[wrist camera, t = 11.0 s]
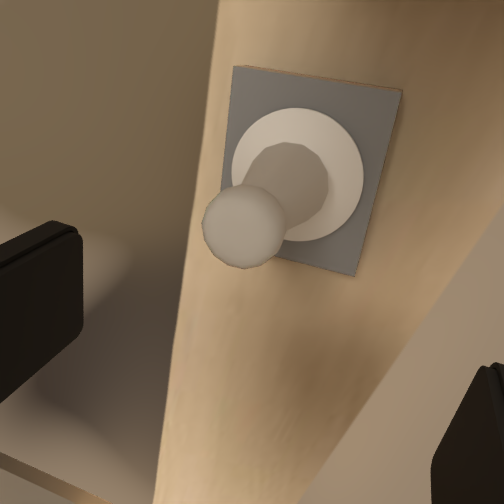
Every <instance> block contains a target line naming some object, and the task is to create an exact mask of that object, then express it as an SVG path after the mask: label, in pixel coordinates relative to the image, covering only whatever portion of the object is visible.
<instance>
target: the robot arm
mask: <svg viewBox="0 0 504 504" xmlns="http://www.w3.org/2000/svg"><path fill="white" fill-rule="evenodd" d="M82 328H83V240H82V237H81V236H80V235H79V234H78V231H77V229H76V228H75V227H73V226H70V225H67V224H63V223H61V222H58V221H53V220H52V221H48V222H46V223H44V224H42V225H40V226H38V227H36V228H34V229H32V230H30V231H28V232H26V233H23V234H21V235H19V236H17V237H15V238H13V239H11V240H9V241H7V242H5V243H3V244H1V245H0V403H1V402H2V401H4V400H5V399H6V398H7V397H8V396H9V395H11V394H12V393H13V392H14V391H15V390H16V389H18V388H19V387H20V386H21V385H22V384H23V383H24V382H26V381H27V380H28V379H29V378H30V377H32V376H33V375H34V374H35V373H36V372H37V371H38V370H40V369H41V368H42V367H43V366H44V365H45V364H47V363H48V362H49V361H50V360H51V359H52V358H53V357H55V356H56V355H57V354H58V353H59V352H61V350H63V349H64V348H65V347H66V346H67V345H69V344H70V343H71V342H72V341H73V340H74V339H76V338H77V337H78V335H79V334H80V332H81V330H82ZM431 500H432V504H504V365H503V364H500V363H497V362H495V363H493V364H492V365H491V366H490V367H486V366H481V367H480V368H479V369H478V371H477V373H476V375H475V377H474V379H473V381H472V383H471V384H470V386H469V388H468V390H467V392H466V394H465V396H464V398H463V400H462V402H461V404H460V406H459V408H458V410H457V411H456V413H455V415H454V417H453V419H452V421H451V423H450V425H449V427H448V429H447V431H446V433H445V435H444V437H443V438H442V440H441V442H440V444H439V446H438V448H437V450H436V452H435V454H434V456H433V459H432V464H431ZM0 504H113V503H111V502H108V501H106V500H104V499H102V498H100V497H98V496H95V495H93V494H91V493H89V492H87V491H85V490H82V489H80V488H78V487H76V486H74V485H71V484H69V483H67V482H65V481H63V480H60V479H58V478H56V477H54V476H52V475H50V474H48V473H45V472H43V471H41V470H38V469H36V468H34V467H32V466H30V465H28V464H26V463H24V462H21V461H19V460H17V459H15V458H12V457H10V456H8V455H6V454H4V453H1V452H0Z"/></svg>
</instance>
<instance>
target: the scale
mask: <svg viewBox="0 0 504 504" xmlns="http://www.w3.org/2000/svg"><path fill="white" fill-rule="evenodd" d="M402 91H403V90H398V89H392V88H386V87H380V86H373V85H367V84H361V83H354V82H348V81H342V80H335V79H329V78H323V77H316V76H310V75H304V74H298V73H291V72H285V71H279V70H272V69H266V68H260V67H253V66H247V65H245V66H233V76H232V85H231V95H230V104H229V114H228V124H227V133H226V143H225V152H224V162H223V172H222V181H221V191H222V190H224V189H226V188H230V187H233V186H237V185H240V184H241V183H242V181H243V179H244V177H245V175H246V173H247V171H248V169H249V167H250V165H251V163H252V161H253V160H254V159H255V158H256V157H257V156H258V155H259V154H260V153H261V151H262V150H263V149H264V148H266V147H269V146H272V145H275V144H278V143H282V142H288V143H295V144H302V145H304V146H306V147H307V148H308V149H310V150H311V151H313V152H314V153H315V154H317V155H318V156H319V157H320V159H321V161H322V163H323V165H324V166H325V168H326V170H327V172H328V188H329V191H328V194H327V197H326V199H325V201H324V204H323V206H322V209H321V210H320V211H318V212H317V213H316V214H315V215H314V216H312V217H311V218H310V219H309V220H308V221H306V222H304V223H301V224H299V225H297V226H295V227H293V228H291V229H289V230H287V231H286V234H285V237H284V240H283V242H282V245H281V247H280V249H279V251H278V252H277V253H276V254H275V255H274V256H276V257H280V258H284V259H288V260H291V261H295V262H299V263H303V264H307V265H311V266H315V267H319V268H322V269H326V270H330V271H334V272H338V273H342V274H346V275H350V276H353V277H355V273H356V270H357V266H358V263H359V259H360V255H361V251H362V247H363V243H364V239H365V235H366V231H367V227H368V224H369V220H370V216H371V212H372V208H373V204H374V200H375V196H376V192H377V188H378V185H379V181H380V177H381V173H382V169H383V165H384V161H385V157H386V153H387V149H388V146H389V142H390V138H391V134H392V130H393V126H394V122H395V118H396V114H397V110H398V107H399V103H400V99H401V95H402ZM221 191H220V192H221Z"/></svg>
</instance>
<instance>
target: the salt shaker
mask: <svg viewBox="0 0 504 504" xmlns="http://www.w3.org/2000/svg"><path fill="white" fill-rule="evenodd" d="M328 191H329V188H328V172H327V170H326V168H325V166H324V165H323V163H322V161H321V159H320V157H319V156H318V155H317V154H315V153H314V152H313V151H311V150H310V149H308V148H307V147H306V146H304V145H302V144H295V143H288V142H282V143H278V144H275V145H272V146H269V147H266V148H264V149H263V150H262V151H261V153H260V154H259V155H258V156H257V157H256V158H255V159H254V160H253V161H252V163H251V165H250V167H249V169H248V171H247V173H246V175H245V177H244V179H243V181H242V183H241V184H240V185H237V186H233V187H230V188H226V189H224V190H222V191H221V192H220V193H219V194H218V195H217V196H216V197H215V198H214V199H213V200H212V201H211V202H210V203H209V205H208V206H207V208H206V210H205V214H204V217H203V220H202V223H201V224H202V229H203V235H204V240H205V242H206V244H207V245H208V247H209V249H210V250H211V252H212V253H213V255H214V256H216V257H217V258H218V259H220V260H221V261H223V262H224V263H225V264H227V265H229V266H233V267H237V268H241V269H248V268H252V267H257V266H260V265H262V264H264V263H265V262H266V261H268V260H269V259H270V258H271V257H272V256H274V255H275V254H276V253H277V252H278V251H279V249H280V247H281V245H282V242H283V240H284V237H285V234H286V231H287V230H289V229H291V228H293V227H295V226H297V225H299V224H301V223H304V222H306V221H308V220H309V219H310V218H311V217H312V216H314V215H315V214H316V213H317V212H318V211H320V210H321V209H322V206H323V204H324V201H325V199H326V197H327V194H328Z"/></svg>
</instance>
